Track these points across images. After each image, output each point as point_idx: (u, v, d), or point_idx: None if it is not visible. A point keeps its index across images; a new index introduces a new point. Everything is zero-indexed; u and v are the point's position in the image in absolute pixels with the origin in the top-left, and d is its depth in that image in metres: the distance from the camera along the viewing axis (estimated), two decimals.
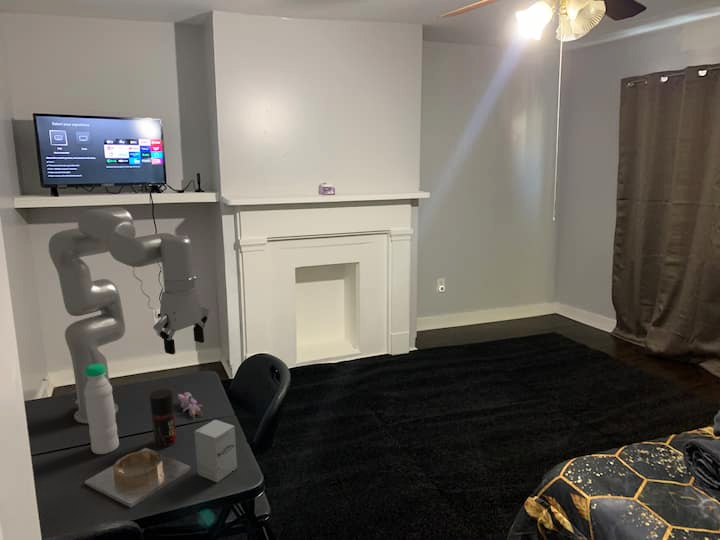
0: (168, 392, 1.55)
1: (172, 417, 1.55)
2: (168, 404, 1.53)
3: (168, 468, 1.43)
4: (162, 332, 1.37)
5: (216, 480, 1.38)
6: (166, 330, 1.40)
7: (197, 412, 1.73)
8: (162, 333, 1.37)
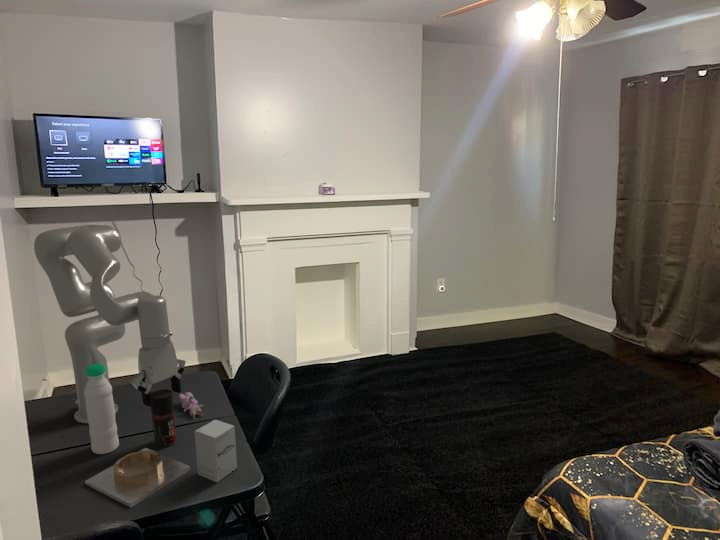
0: (168, 392, 1.55)
1: (172, 417, 1.55)
2: (168, 404, 1.53)
3: (168, 468, 1.43)
4: (140, 386, 1.47)
5: (216, 480, 1.38)
6: (144, 384, 1.50)
7: (198, 412, 1.73)
8: (140, 387, 1.47)
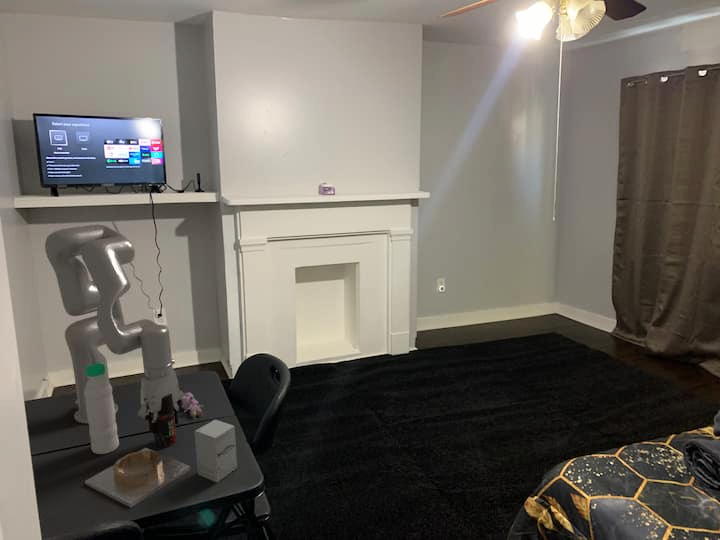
0: None
1: (172, 417, 1.55)
2: (168, 404, 1.53)
3: (168, 468, 1.43)
4: (147, 416, 1.50)
5: (216, 480, 1.38)
6: (149, 412, 1.53)
7: (198, 413, 1.72)
8: (147, 417, 1.50)
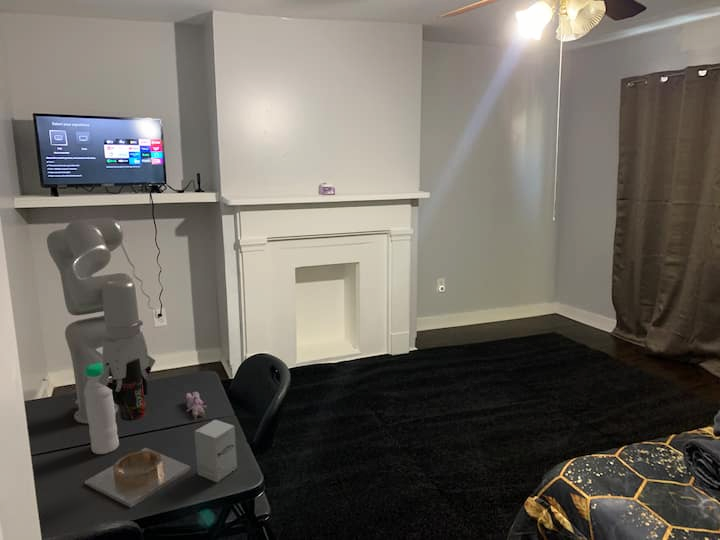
0: None
1: (140, 386, 1.35)
2: (134, 370, 1.33)
3: (168, 468, 1.43)
4: (109, 383, 1.30)
5: (216, 480, 1.38)
6: (113, 380, 1.33)
7: (200, 413, 1.72)
8: (109, 384, 1.30)
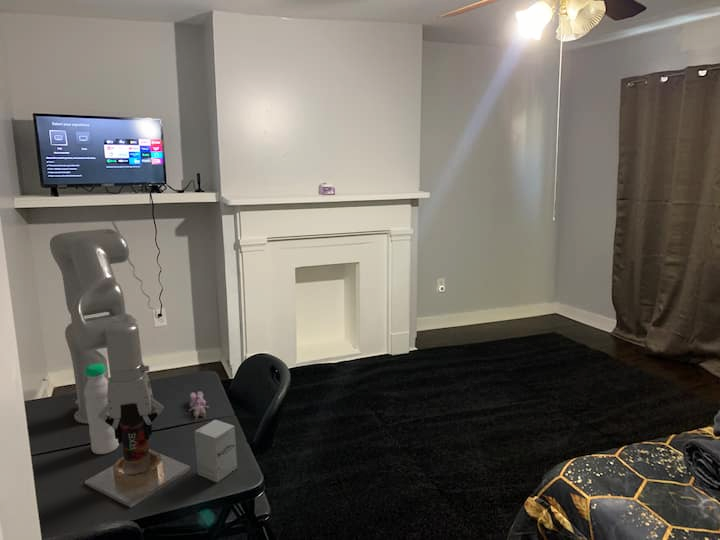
0: None
1: (135, 430, 1.35)
2: (128, 414, 1.34)
3: (168, 468, 1.43)
4: (107, 419, 1.35)
5: (216, 480, 1.38)
6: None
7: (201, 413, 1.72)
8: (106, 420, 1.35)
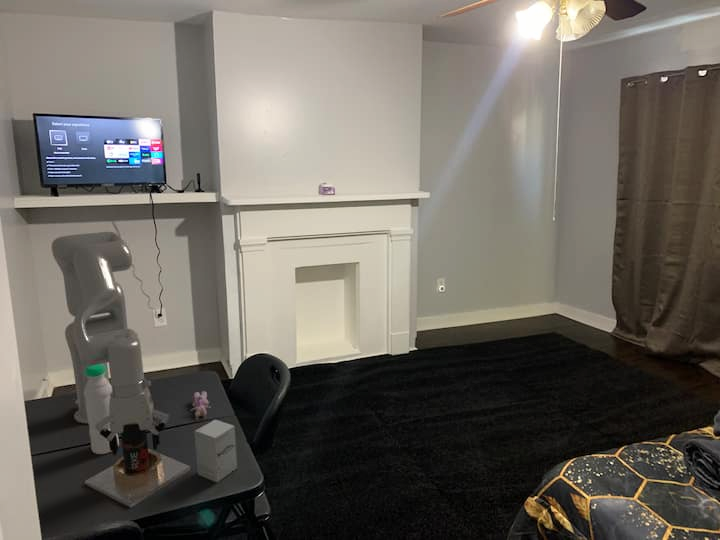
0: None
1: (137, 450, 1.37)
2: (130, 434, 1.35)
3: (168, 468, 1.43)
4: (101, 431, 1.36)
5: (216, 480, 1.38)
6: None
7: (202, 414, 1.72)
8: (101, 432, 1.36)
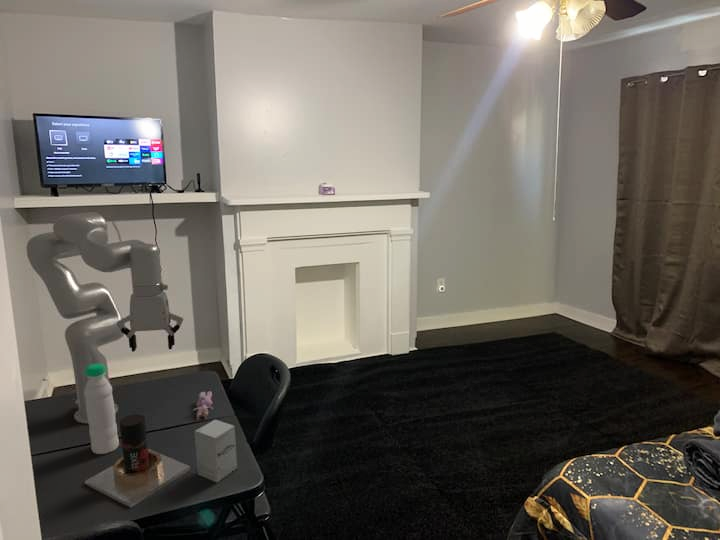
0: (138, 421, 1.37)
1: (137, 450, 1.37)
2: (130, 434, 1.35)
3: (168, 468, 1.43)
4: (122, 329, 1.49)
5: (216, 480, 1.38)
6: None
7: (203, 414, 1.71)
8: (122, 329, 1.49)
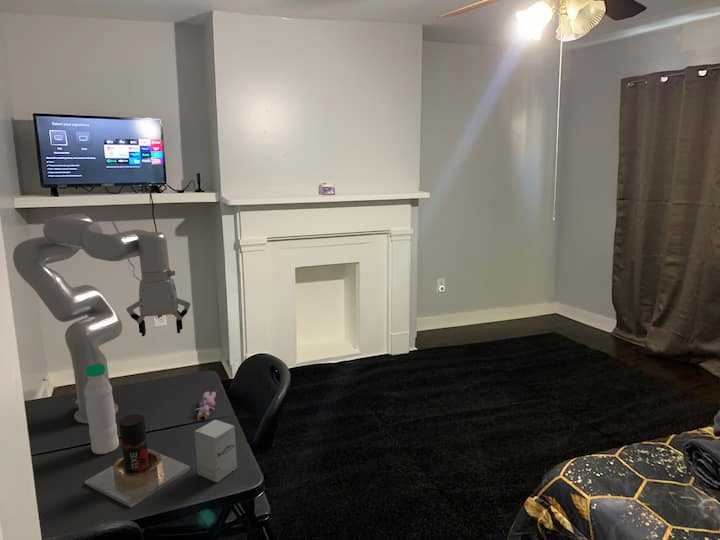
0: (138, 421, 1.37)
1: (136, 450, 1.37)
2: (129, 434, 1.35)
3: (168, 468, 1.43)
4: (132, 314, 1.55)
5: (216, 480, 1.38)
6: None
7: (204, 415, 1.71)
8: (132, 315, 1.55)
